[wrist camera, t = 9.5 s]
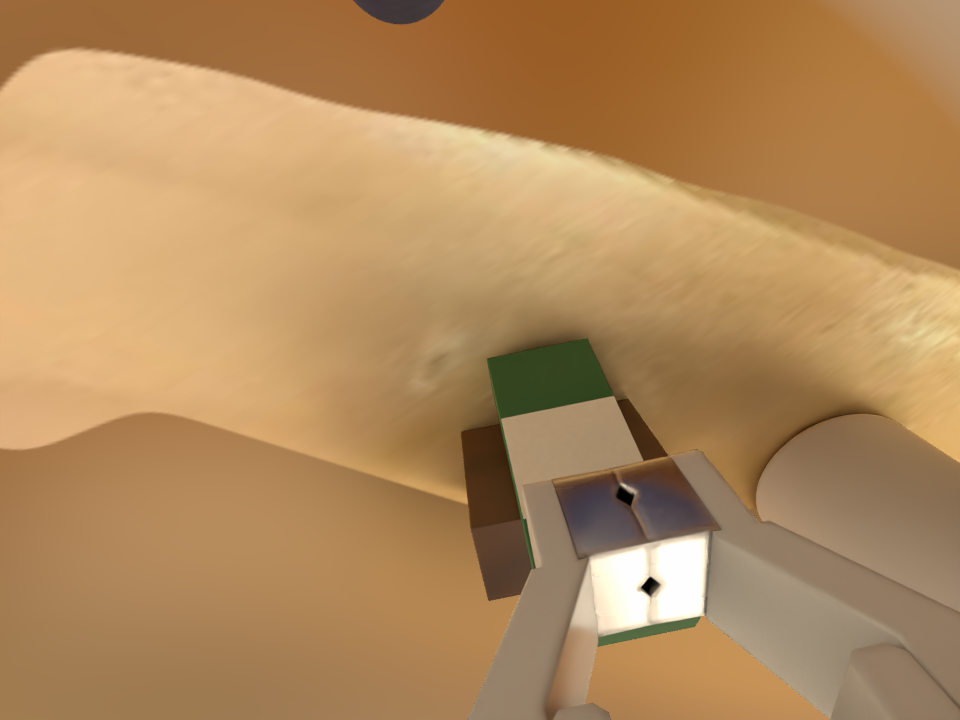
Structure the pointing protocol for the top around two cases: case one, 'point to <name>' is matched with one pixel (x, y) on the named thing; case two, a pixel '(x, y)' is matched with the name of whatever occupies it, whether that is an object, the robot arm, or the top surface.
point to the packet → (563, 429)
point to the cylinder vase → (871, 500)
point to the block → (513, 503)
